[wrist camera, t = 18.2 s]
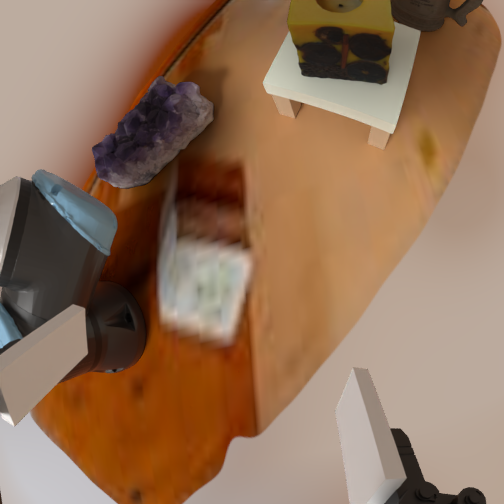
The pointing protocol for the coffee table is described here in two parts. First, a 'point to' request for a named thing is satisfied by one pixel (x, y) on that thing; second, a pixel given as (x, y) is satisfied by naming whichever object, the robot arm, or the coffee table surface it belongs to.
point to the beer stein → (430, 12)
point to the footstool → (347, 87)
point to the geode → (152, 133)
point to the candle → (343, 38)
